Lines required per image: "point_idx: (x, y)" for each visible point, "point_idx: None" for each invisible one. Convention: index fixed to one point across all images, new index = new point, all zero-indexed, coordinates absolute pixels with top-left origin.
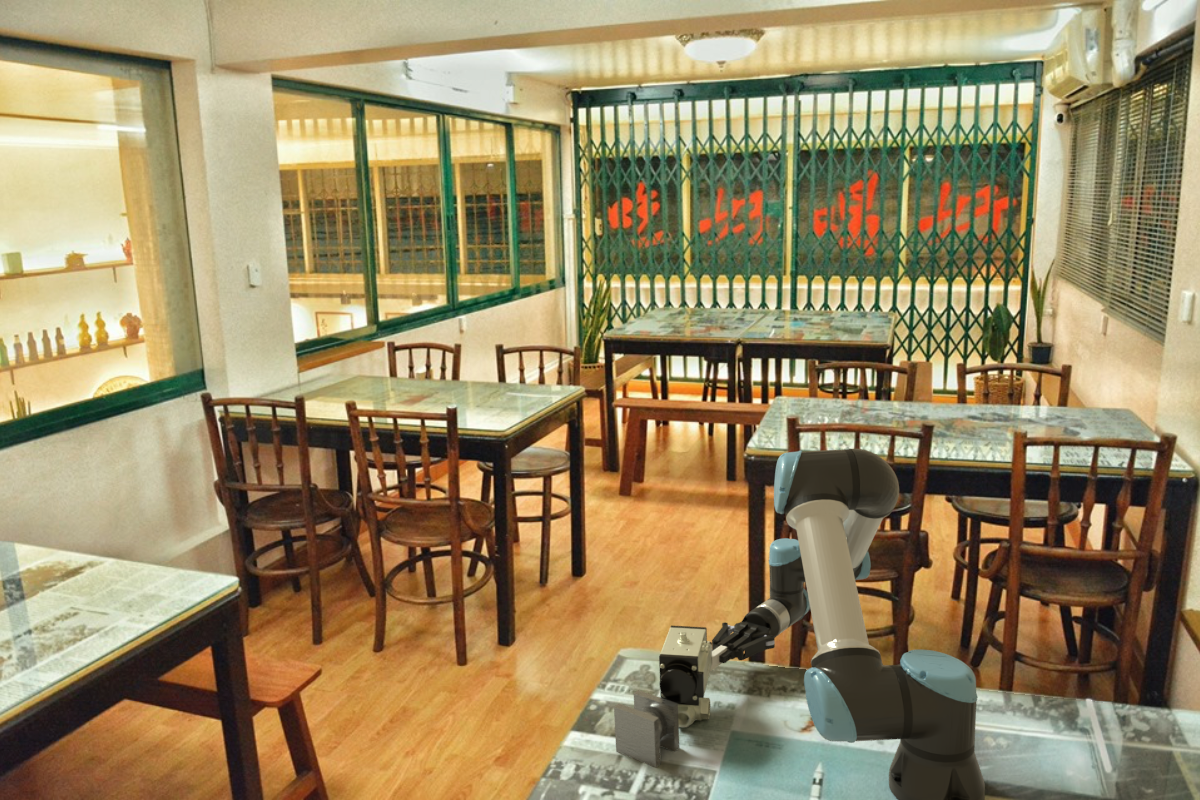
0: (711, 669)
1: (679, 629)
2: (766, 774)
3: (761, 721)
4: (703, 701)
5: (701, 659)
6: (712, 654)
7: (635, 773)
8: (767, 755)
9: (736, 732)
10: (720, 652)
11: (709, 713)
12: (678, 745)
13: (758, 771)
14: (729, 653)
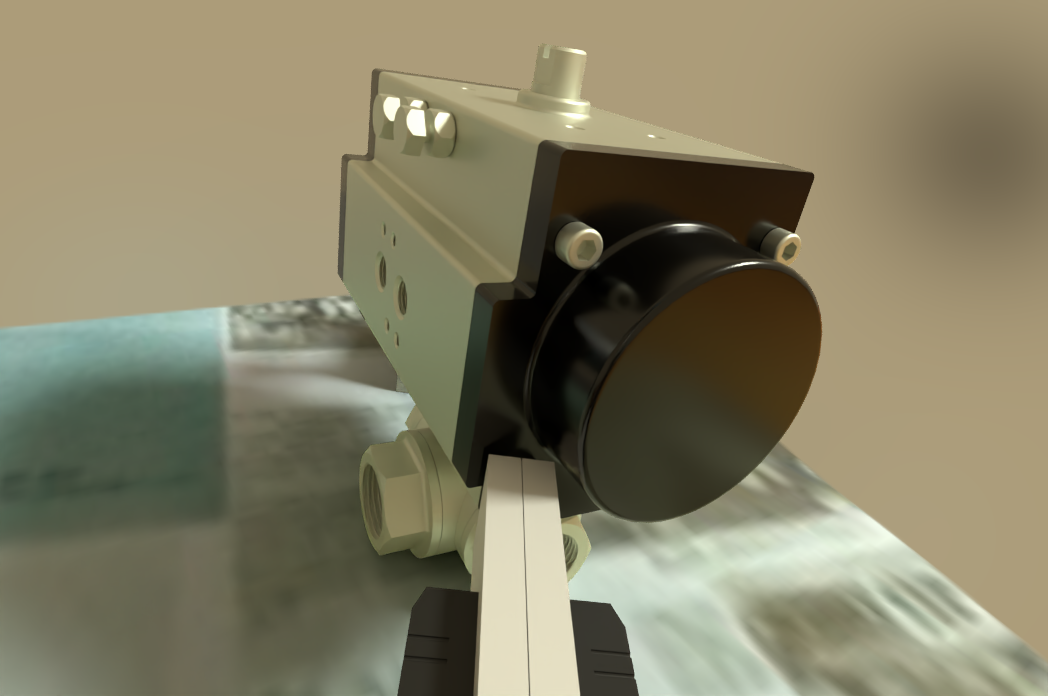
0: (474, 545)
1: (708, 152)
2: (35, 365)
3: (31, 648)
4: (398, 449)
5: (411, 184)
6: (521, 516)
7: None
8: (19, 432)
9: (195, 512)
10: (481, 592)
11: (374, 538)
12: (397, 378)
13: (69, 369)
14: (399, 693)
